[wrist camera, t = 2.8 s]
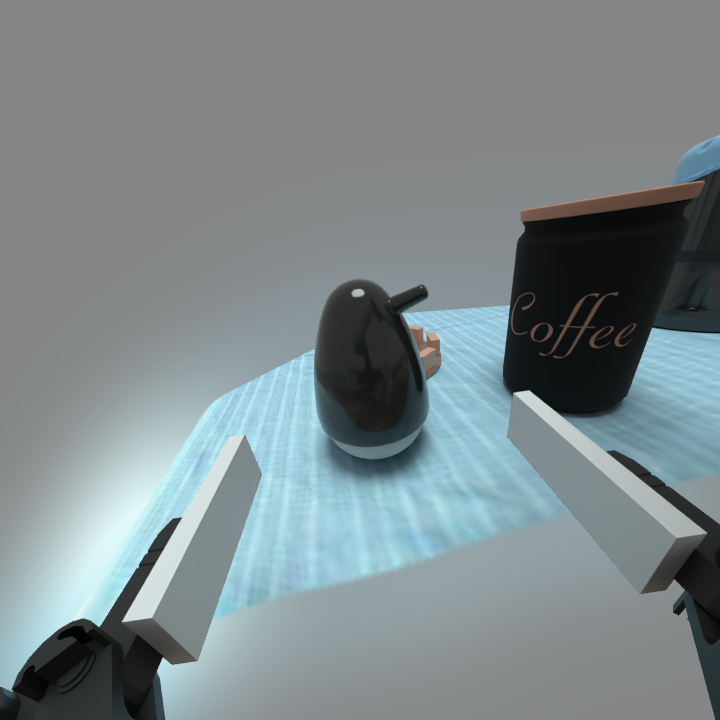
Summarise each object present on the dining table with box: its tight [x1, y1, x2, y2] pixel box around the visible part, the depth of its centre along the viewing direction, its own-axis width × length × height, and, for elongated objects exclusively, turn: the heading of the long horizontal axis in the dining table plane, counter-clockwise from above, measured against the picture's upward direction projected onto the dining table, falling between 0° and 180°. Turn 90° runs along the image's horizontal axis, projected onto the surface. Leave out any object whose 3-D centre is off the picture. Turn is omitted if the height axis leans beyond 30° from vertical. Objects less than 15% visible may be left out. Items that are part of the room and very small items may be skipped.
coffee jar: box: [503, 181, 705, 414], centre depth 24 cm, size 11×11×18 cm
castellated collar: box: [408, 325, 441, 380], centre depth 39 cm, size 16×16×3 cm
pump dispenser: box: [314, 279, 429, 459], centre depth 22 cm, size 10×10×15 cm
